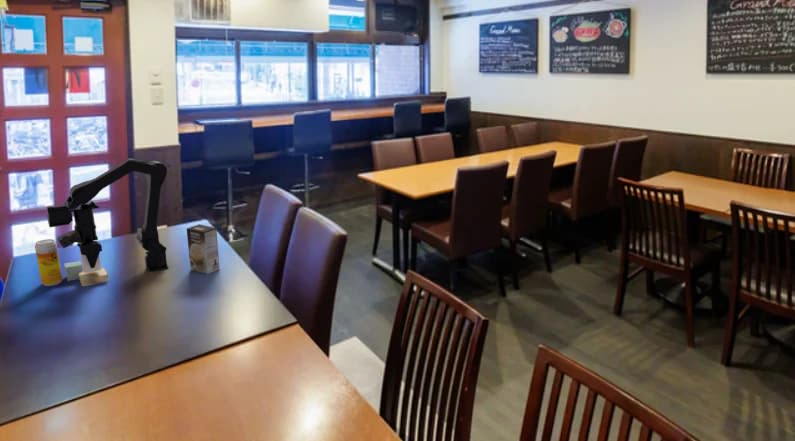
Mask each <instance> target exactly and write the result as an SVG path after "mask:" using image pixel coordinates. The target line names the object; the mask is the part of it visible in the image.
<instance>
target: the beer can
mask: <svg viewBox="0 0 795 441" xmlns="http://www.w3.org/2000/svg"><path fill="white" fill-rule="evenodd" d="M34 249H35V256H36V260H37V261H36V262H37V265H38V272H39V276H40V283H41V284H42V285H43V286H45V287H52V286H57V285H60V284H61V283H62V281H63V275H62V270H61V263H60V259H59V258H60V256H59V251H58V246H57V243H56V241H55V239H41V240H38V241H36V242H35V244H34Z"/></svg>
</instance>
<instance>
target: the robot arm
mask: <svg viewBox="0 0 795 441" xmlns="http://www.w3.org/2000/svg"><path fill="white" fill-rule="evenodd" d="M132 172H137V173H142V174H145V178H146V183H147V194H146V202H145V210H144V218H143V224H142V226H141V228H140V227H137V229H136V230H137V234H136V237H135V239H136V240H137V242H138V244H139V245H140V246H141V247H142V248H143V249H144V250H145V256H144V263H145V267H146V269H147V270H148V271H149V272H154V271H160V270H164V269H169V265H168V262H167V253H166V252H167V247H166V246H165V245H163V243H162V242H160V237H159V232H158V219H159V218H158V216H159V209H160V208H159V207H160V202H161V201H160V200H161V193H162V192H161V191H162V186H163V185H164V183H165V181H166V178H167V175H168V168H167V166H166V165H165V164H163V163H162V162H160V161H156V160H151V161H149V162H148V161H143V160H139V159H133V158H126V159H125V160H124V161H122V162H121V163H118V164H117V165H115V166H113V167H112V168H110V169H108V170H106V171H105V172H104V173H102V174H100V175H98V176H97V177H95V178H93V179H90V180H85V181H82V182H79V183H78V184H74V185H73V186H71V187H70V189H69V193H68V194H69V196H68V197H67V200H66V201H65V202H64V204H61V205H55V206H53V205H51V206H50V205H49V206H46V214H47V215H46V218H47V222H48V227H49V228H56V227H62V226H69V225H70V223H72V222H73V218H74V226H73V228H74V229H73V230H71V231H67V232H65V233H63V234H61V235H59V236H58V237H56V239H57V242H58V243H59V244H60V246H61V248H62V249H65V248H68V247H69V246H71V245H74V244H75V243H76V245H77V247H78V248H79V253H80V255H81V254H84V255H86V257H87V260H88V262H89V265H90V267H91V268H95V265H96V262H97V259H98V256H99V257H100V252H103V247H102V244H101V242H99V241H98V240H99V236H97V225H96V222H95V217H94V216H95V215H94V209H99V208H100V206H99V205H98V204H96V203H95V202H94V201H93V199H94V198H95V197H97V195H99V193H100V192H101V191H102V190H103V189H105V188H106V187H108V186H110V185H112V184H114V183H115V182H117V181H118V180H120V179H122V178H123V177H125V176H126V175H128V174H130V173H132ZM72 213H73V214H72Z"/></svg>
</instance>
